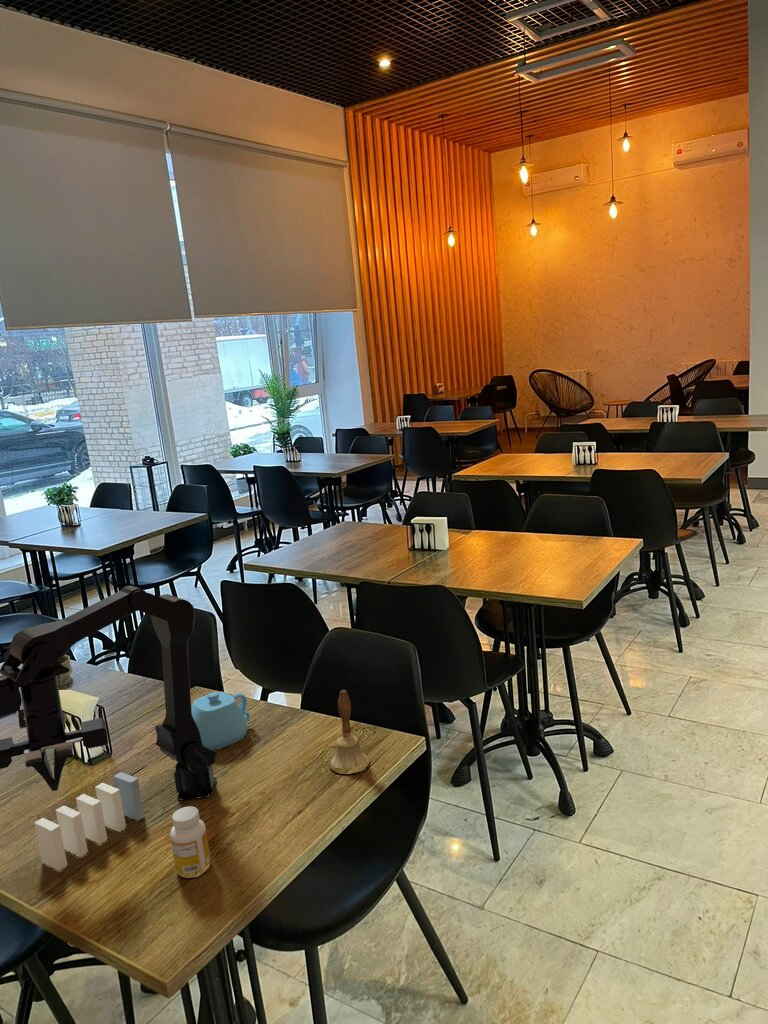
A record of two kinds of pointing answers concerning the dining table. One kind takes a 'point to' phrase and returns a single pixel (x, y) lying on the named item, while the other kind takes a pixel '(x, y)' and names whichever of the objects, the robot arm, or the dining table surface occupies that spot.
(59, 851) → the domino
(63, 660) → the vessel
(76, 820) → the domino
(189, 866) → the supplement bottle
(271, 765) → the dining table surface
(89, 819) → the domino
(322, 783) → the dining table surface
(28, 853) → the dining table surface
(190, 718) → the robot arm
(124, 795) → the domino
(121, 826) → the domino
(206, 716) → the teapot
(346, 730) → the hand bell
